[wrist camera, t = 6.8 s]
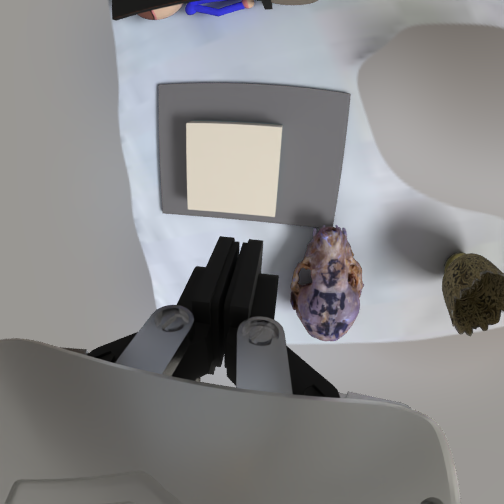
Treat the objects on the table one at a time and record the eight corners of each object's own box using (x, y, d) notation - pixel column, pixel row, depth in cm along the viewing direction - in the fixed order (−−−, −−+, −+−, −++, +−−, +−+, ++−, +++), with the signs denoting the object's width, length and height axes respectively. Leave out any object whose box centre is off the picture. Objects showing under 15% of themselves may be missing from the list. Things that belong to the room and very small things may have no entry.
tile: (282, 124, 26) (193, 120, 27) (281, 127, 24) (186, 123, 25) (276, 208, 30) (193, 201, 31) (274, 217, 28) (187, 209, 29)
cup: (484, 230, 28) (520, 268, 21) (477, 283, 31) (505, 326, 25) (428, 240, 30) (457, 283, 23) (426, 295, 33) (447, 342, 26)
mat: (160, 84, 26) (158, 84, 25) (349, 93, 24) (350, 93, 24) (164, 211, 32) (162, 213, 32) (331, 227, 31) (332, 229, 30)
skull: (298, 215, 29) (309, 254, 24) (373, 219, 30) (397, 256, 25) (284, 307, 36) (289, 350, 31) (347, 307, 37) (359, 347, 32)
